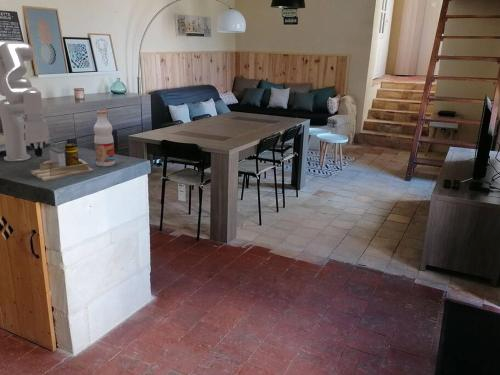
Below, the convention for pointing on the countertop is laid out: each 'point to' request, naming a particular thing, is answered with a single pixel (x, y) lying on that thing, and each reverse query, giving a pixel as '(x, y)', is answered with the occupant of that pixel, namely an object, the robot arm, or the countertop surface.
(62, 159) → the grey flat block
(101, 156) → the fruit juice
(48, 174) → the wooden tray
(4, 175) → the countertop surface
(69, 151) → the condiment
